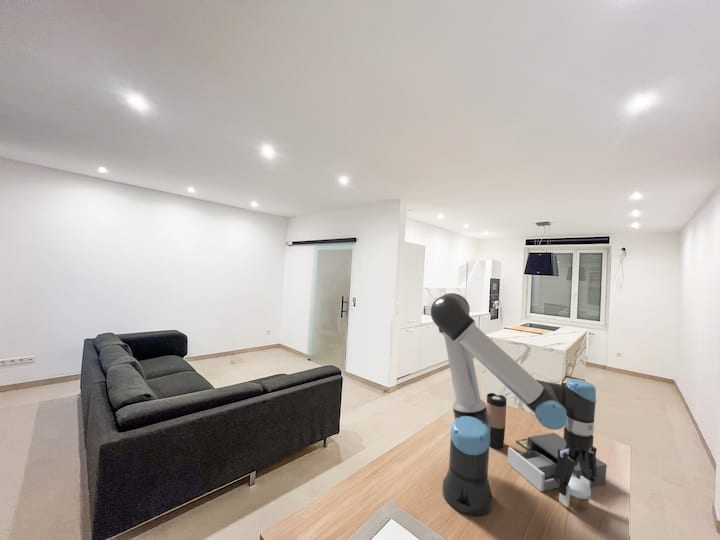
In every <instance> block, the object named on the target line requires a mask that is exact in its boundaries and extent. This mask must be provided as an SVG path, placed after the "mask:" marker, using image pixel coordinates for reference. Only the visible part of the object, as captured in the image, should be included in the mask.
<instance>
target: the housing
mask: <svg viewBox="0 0 720 540" xmlns="http://www.w3.org/2000/svg"><path fill="white" fill-rule="evenodd" d="M527 439H528V441H527V446H526V448H527V450H526V452H527V451H532V450H536V451H537V452H538V453H540V454H548V453H549V454H551V455H552V456H554V457H555V458H556V459H558V449H561V450H564V449H565V447H566V444H567V443H566V441H565V439H564V437H562V436H560V435H559V434H557V433H556V432H551V433H545V434H539V435H533V436H528V437H527ZM569 459H570V458H569ZM570 460H572V459H570ZM572 461H573V460H572ZM573 462H574V461H573ZM596 469H597V477H596V478H595V477H593V478H594V479H595V482H592V481H591V487H590V488H594V487H598V485H599V486H603V485H605V484H606V479H607V463H606V462H604V461H602V460H600V459H599V458H597V457H596ZM591 471H592V470H591ZM571 476H573V477H576V478H578V479H580V476H583V475H582V471H581V467H580V464H579V462H578V464H577V466H575V467H574V470H573V473H572V475H571ZM583 477H584V476H583Z"/></svg>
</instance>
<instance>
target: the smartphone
mask: <svg viewBox="0 0 720 540" xmlns="http://www.w3.org/2000/svg"><path fill="white" fill-rule="evenodd" d="M527 441H528V438H524V439H518V440H515V443H516V444H518V445H519V446H520V447H522V449H524V450H526V451H527V448H526V446H527ZM542 455H543V456H545V457H547V458H548V459H550V460H551V461H553V462H554V463H555V464H557V459H556V458H555V457H554V456H552V455H551V454H549V453H548V454H542Z"/></svg>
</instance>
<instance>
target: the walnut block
mask: <svg viewBox="0 0 720 540" xmlns="http://www.w3.org/2000/svg"><path fill="white" fill-rule="evenodd" d="M588 507H589V502H588V499H580V498H577V497H574V496H572V495H570V498H569V507H568V508H571V510H573V511H574V512H576V513H577V512H581V511H584V510H588Z"/></svg>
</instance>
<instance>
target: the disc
mask: <svg viewBox="0 0 720 540" xmlns="http://www.w3.org/2000/svg"><path fill="white" fill-rule="evenodd" d="M568 485H569V486H570V495H572V496H574V497H577V498H580V499H588V498H589V499H591V496H592V495H591V494H592V489H591V488H592V487H591V488H590V487H589V486H588V485H587V484H586V483H585V482H583V481H582V480H580V479H578V478H576V477H573V476H571V478H570V481H569V484H568Z"/></svg>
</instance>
